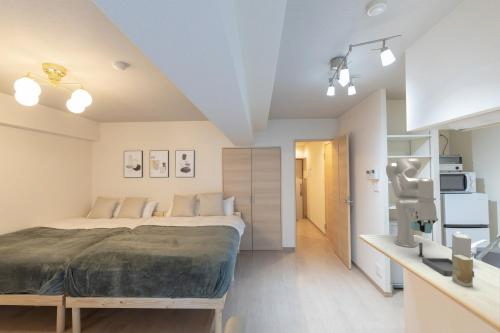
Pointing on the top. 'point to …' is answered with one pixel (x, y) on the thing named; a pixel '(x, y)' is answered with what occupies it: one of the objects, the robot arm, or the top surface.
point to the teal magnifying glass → (416, 226)
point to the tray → (440, 265)
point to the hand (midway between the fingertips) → (425, 231)
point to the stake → (420, 250)
